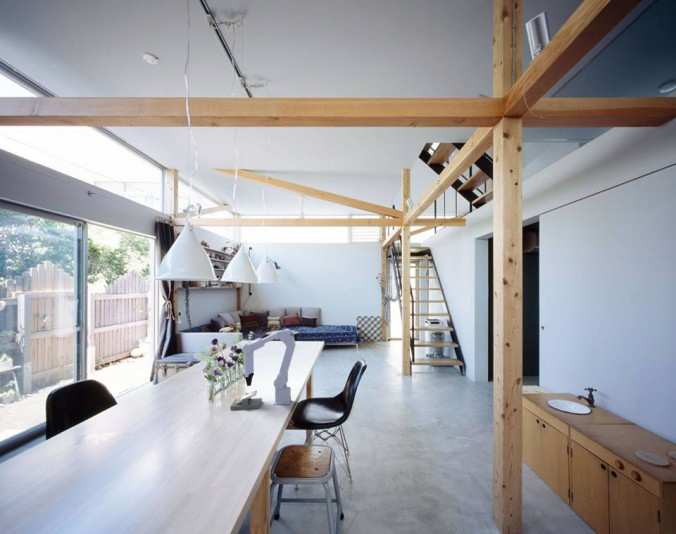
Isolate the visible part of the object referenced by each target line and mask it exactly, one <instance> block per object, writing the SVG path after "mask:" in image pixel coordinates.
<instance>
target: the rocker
mask: <svg viewBox="0 0 676 534" xmlns="http://www.w3.org/2000/svg"><path fill="white" fill-rule="evenodd" d="M248 393H249V394H247V395H245V394H244V395H243V396H240V397H238V398H236V399H237V401H236V404H238V403H240V402H242V399H243V398H248V399H249V398H251V399H252V398H253V397H256V396H257V394H258V390H257V389H256V390H254V391H252V392H248Z"/></svg>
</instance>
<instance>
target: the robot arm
mask: <svg viewBox="0 0 676 534" xmlns="http://www.w3.org/2000/svg"><path fill="white" fill-rule="evenodd" d="M274 340H278V341H279V340H280V342H282V343H283V344H284V345H285V351H284V354H283V358H282V362H281V364H280V365H281V366H280V369H279V372H278V374H277V375H276V378H275V379H274V381H273V386H274V396H275V397H274V398H275V399H274V402H273V406H280V405H291V400H292V397H291V394H292V393H291V386H288V382H289V370H290V369H289V368H290V365H291V362H292V358H293V357H294V352H295V349H296V348H295V347H296V341H295V335H294V332H293V330H291V328H284V329H280V330H278V331H275V332H274V333H272V334H270V335H267V336H266V337H264V338H262V337H257V338H255V339H254V340H253V341H249V343H246V344H245V345H244V346H243V347H242V348H241V349H242V352H243V370H242V371H241V372H242V373H243V377H244V379H245V382H246V386H247V387H251V386H252V381H253V377H254V376H255V373H254V372H255V369H254V368H255V367H254V365H255V363H254V361H255V359H254V352H255V351H257V350H260V349H261V348H264V347H265V345H266V344H267V343H269V342H271V341H274Z"/></svg>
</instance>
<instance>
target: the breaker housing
mask: <svg viewBox="0 0 676 534" xmlns="http://www.w3.org/2000/svg"><path fill="white" fill-rule="evenodd" d="M249 393H250V392H246V393H245V394H244V396H245V395H247V394H249ZM237 399H238V398H236V399H234V400H233V402H232V403H231V405H230V411H236V410H237V411H238V410H257V409H260V407H261V405H262V403H263V398H262V397H260V398H259V397H258V398H257V397H256V398H252V397H251V398H249V399H248V398H243V399H242V402H240V403H238V404H236V401H237Z"/></svg>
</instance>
